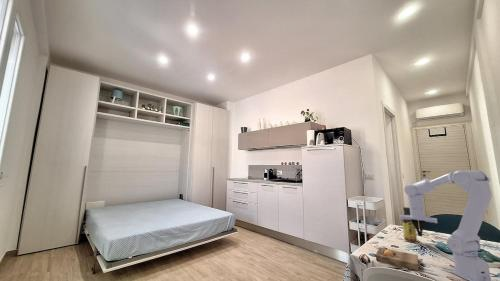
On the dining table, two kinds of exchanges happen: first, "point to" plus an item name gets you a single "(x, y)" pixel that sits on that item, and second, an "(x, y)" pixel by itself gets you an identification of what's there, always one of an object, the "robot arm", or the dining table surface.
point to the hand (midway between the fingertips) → (420, 235)
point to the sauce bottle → (408, 227)
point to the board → (398, 258)
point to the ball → (388, 253)
